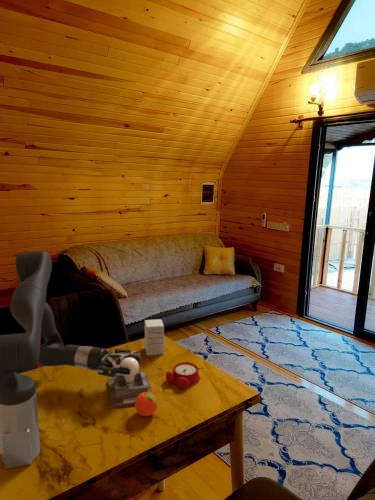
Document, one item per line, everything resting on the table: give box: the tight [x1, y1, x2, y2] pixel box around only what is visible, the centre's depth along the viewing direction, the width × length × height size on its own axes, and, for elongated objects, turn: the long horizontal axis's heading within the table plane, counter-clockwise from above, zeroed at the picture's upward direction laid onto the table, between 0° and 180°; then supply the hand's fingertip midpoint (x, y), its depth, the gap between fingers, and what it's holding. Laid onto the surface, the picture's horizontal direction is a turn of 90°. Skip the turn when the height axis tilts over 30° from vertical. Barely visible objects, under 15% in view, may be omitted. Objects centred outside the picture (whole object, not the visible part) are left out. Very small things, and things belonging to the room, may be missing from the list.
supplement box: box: [144, 319, 165, 356], centre depth 154 cm, size 7×7×13 cm
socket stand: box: [107, 370, 154, 409], centre depth 126 cm, size 16×14×4 cm
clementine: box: [134, 392, 159, 417], centre depth 114 cm, size 8×7×7 cm
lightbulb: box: [119, 357, 140, 388], centre depth 125 cm, size 6×6×11 cm
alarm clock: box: [165, 361, 204, 390], centre depth 133 cm, size 10×6×15 cm
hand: (135, 365), depth 124 cm, fingers open, 8 cm apart
